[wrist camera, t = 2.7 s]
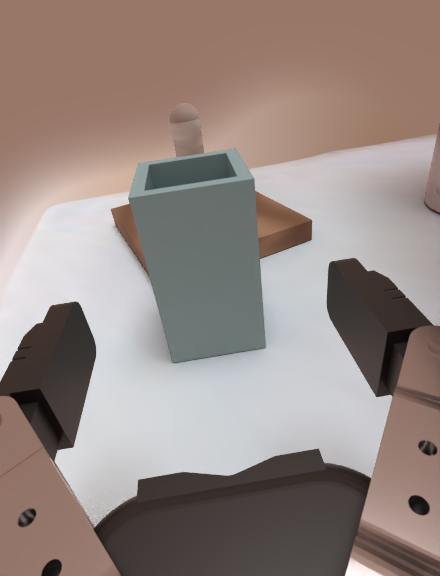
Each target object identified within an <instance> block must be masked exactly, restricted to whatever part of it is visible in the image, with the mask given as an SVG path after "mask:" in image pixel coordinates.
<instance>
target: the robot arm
mask: <svg viewBox="0 0 440 576" xmlns="http://www.w3.org/2000/svg"><path fill="white" fill-rule="evenodd" d="M424 201H425V203H426V204H427V205H428V206H429V207H430V208H432V209H433V210H435V211H437V212H439V213H440V124H439V128H438V133H437V138H436V143H435V148H434V153H433V158H432V163H431V168H430V173H429V178H428V183H427V189H426V194H425V199H424ZM327 309H328V313H329V317H330V319H331V321H332V323H333V324H334V326H335V328H336V329H337V331H338V333H339V335H340V336H341V338H342V340H343V341H344V343H345V345H346V346H347V348H348V350H349V351H350V353H351V355H352V357H353V358H354V360H355V362H356V363H357V365H358V367H359V368H360V370H361V372H362V374H363V375H364V377H365V379H366V380H367V382H368V384H369V385H370V387H371V389H372V390H373V392H374V394H375V396H376V397H380V396H386V395H392V397H393V398H392V402H391V406H390V410H389V414H388V418H387V421H386V425H385V429H384V433H383V437H382V440H381V444H380V448H379V452H378V456H377V459H376V463H375V467H374V471H373V475H372V478H370V477H368V476H366V475H365V474H362V473H360V472H358V471H355V470H353V469H350V468H347V467H344V466H340V465H335V464H330V463H324V462H323V459H322V456H321V454H320V451H319V449H314V450H308V451H302V452H297V453H291V454H285V455H279V456H274V457H272V458H270V459H268V460H265V461H263V462H261V463H259V464H257V465H254V466H252V467H250V468H248V469H246V470H243V471H241V472H239V473H237V474H234V475H230V476H223V475H211V474H199V473H188V472H181V473H175V474H169V475H164V476H158V477H152V478H146V479H140V480H138V492H137V496H135V497H133V498H131V499H129V500H127V501H126V502H124V503H122V504H121V505H119V506H118V507H117V508H115V509H114V510H113V511H111V512H110V513H109V514H108V515H107V516H106V517H104V518H103V519H102V520H101V521H100V522H99V523H98V524H97V526H96V527H95V526H94V525H93V523H92V522H91V520H90V518H89V517H88V515H87V514H86V512H85V510H84V509H83V507H82V505H81V504H80V502H79V501H78V499H77V497H76V496H75V494H74V492H73V491H72V489H71V488H70V486H69V484H68V483H67V481H66V479H65V478H64V476H63V474H62V473H61V471H60V470H59V468H58V466H57V465H56V463H55V462H54V461H55V457H56V454H57V450H60V449H66V448H72V447H74V443H75V439H76V435H77V431H78V427H79V423H80V419H81V415H82V411H83V407H84V403H85V399H86V395H87V391H88V387H89V382H90V378H91V374H92V370H93V366H94V362H95V358H96V345H95V341H94V338H93V335H92V333H91V330H90V328H89V325H88V323H87V320H86V318H85V315H84V313H83V310H82V308H81V306H80V304H79V303H78V302H70V303H64V304H58V305H52V306H51V307H50V308H49V310H48V312H47V315H46V317H45V319H44V321H43V323H39V324H36V325H35V326H34V327H33V328H32V329H31V330H30V331H29V332H28V333H27V334H26V335H25V336H24V337H23V339H22V341H21V343H20V345H19V347H18V351H16V353H15V355H14V356H13V358H12V360H13V361H12V362H10V364H9V366H8V368H7V370H6V372H5V374H4V376H3V378H2V380H1V382H0V576H440V326H434V325H433V324H432V323H431V322H430V321H429V320H428V319H427V318H426V317H425V316H424V315H423V314H422V313H421V312H420V311H419V310H418V309H417V308H416V306H415V305H414V304H413V303H412V302H411V301H410V300H409V299H408V298H406V297H405V295H404V294H403V293H402V292H401V291H400V290H398V288H397V287H396V285H395V284H394V283H393V282H392V281H391V280H390V279H389V278H387V277H385V276H384V275H382V274H380V273H378V272H376V271H367V270H366V269H365V268H364V267H363V266H362V265H361V263H360V262H359V261H358V260H357V259H356V258H351V259H345V260H338V261H332V262H330V264H329V269H328V288H327Z"/></svg>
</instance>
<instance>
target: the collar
mask: <svg viewBox="0 0 440 576" xmlns="http://www.w3.org/2000/svg"><path fill="white" fill-rule="evenodd" d="M128 199H129V202H130V206H131V210H132V213H133V217H134V221H135V224H136V228H137V232H138V236H139V239H140V243H141V247H142V250H143V254H144V258H145V261H146V265H147V269H148V272H149V276H150V280H151V283H152V287H153V291H154V294H155V298H156V302H157V306H158V309H159V313H160V317H161V320H162V324H163V328H164V331H165V335H166V339H167V342H168V346H169V350H170V353H171V357H172V361H173V363H176V362H182V361H188V360H194V359H200V358H206V357H212V356H218V355H224V354H230V353H236V352H243V351H249V350H255V349H261V348H266V345H265V330H264V315H263V301H262V286H261V271H260V257H259V242H258V227H257V213H256V198H255V184H254V178H253V176H252V174H251V173H250V171H249V169H248V168H247V166H246V165H245V163H244V161H243V159H242V158H241V156H240V154H239V153H238V151H237V149H229V150H222V151H216V152H209V153H203V154H196V155H190V156H183V157H176V158H170V159H163V160H157V161H151V162H144V163H138V166H137V169H136V173H135V176H134V180H133V183H132V187H131V190H130V194H129V198H128Z"/></svg>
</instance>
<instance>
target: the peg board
mask: <svg viewBox="0 0 440 576" xmlns="http://www.w3.org/2000/svg"><path fill="white" fill-rule="evenodd" d="M170 123H171V129H172V134H173V140H174V145H175V151H176V156H177V157H183V156H190V155H196V154H203V153H204V149H203V141H202V134H201V126H200V119H199V114H198V112H197V110H196V109H195V108H194V107H193V106H192V105H190V104H187V103H181V104H178V105H177V106H175V107H174V108H173V110H172V111H171V114H170ZM255 198H256V213H257V227H258V242H259V257H260V258H263V257H265V256H268V255H271V254H274V253H276V252H279V251H282V250H285V249H287V248H290V247H293V246H296V245H298V244H301V243H304V242H306V241H309V240H311V238H312V220H311V219H309V218H307V217H305V216H303V215H301V214H299V213H297V212H295V211H293V210H291V209H289V208H287V207H285V206H283V205H281V204H280V203H278V202H276V201H274V200H272V199H270V198H268V197H266V196H264V195H262V194H260V193H258V192H256V191H255ZM111 212H112V215H113V218H114V221H115V225H116V226H117V228H118V230H119V231H120V233H121V234H122V236H123V237H124V239H125V240H126V242H127V243H128V245H129V246H130V248H131V249H132V251H133V252H134V254H135V255H136V257H137V258H138V260H139V261H140V263H141V264H142V266H143V267H144V269H145V270H146V272H147V273H148V275H149V272H148V269H147V265H146V261H145V258H144V254H143V250H142V247H141V243H140V239H139V236H138V232H137V228H136V224H135V221H134V217H133V213H132V210H131V206H130V204H127V205H124V206H120V207H117V208H113V209H111Z"/></svg>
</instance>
